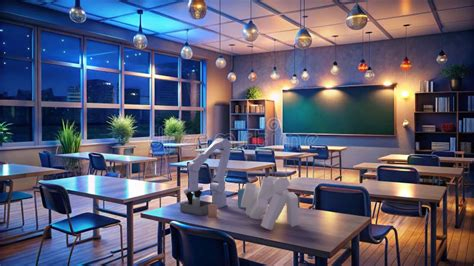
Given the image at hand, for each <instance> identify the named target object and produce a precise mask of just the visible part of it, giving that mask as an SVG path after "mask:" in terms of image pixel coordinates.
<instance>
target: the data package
mask: <svg viewBox="0 0 474 266" xmlns="http://www.w3.org/2000/svg"><path fill="white" fill-rule="evenodd" d="M244 190H245V187H242V188H239V189H238V190H237V207H238V208H240V209H244V210H246V207H241V202H242V197H243V194H244Z"/></svg>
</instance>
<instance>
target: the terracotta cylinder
mask: <svg viewBox="0 0 474 266" xmlns="http://www.w3.org/2000/svg"><path fill="white" fill-rule="evenodd" d="M207 215H208V216H207V217H208V218H210V219H215V218H217V217H218V208H217V204H209V205H208V214H207Z"/></svg>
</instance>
